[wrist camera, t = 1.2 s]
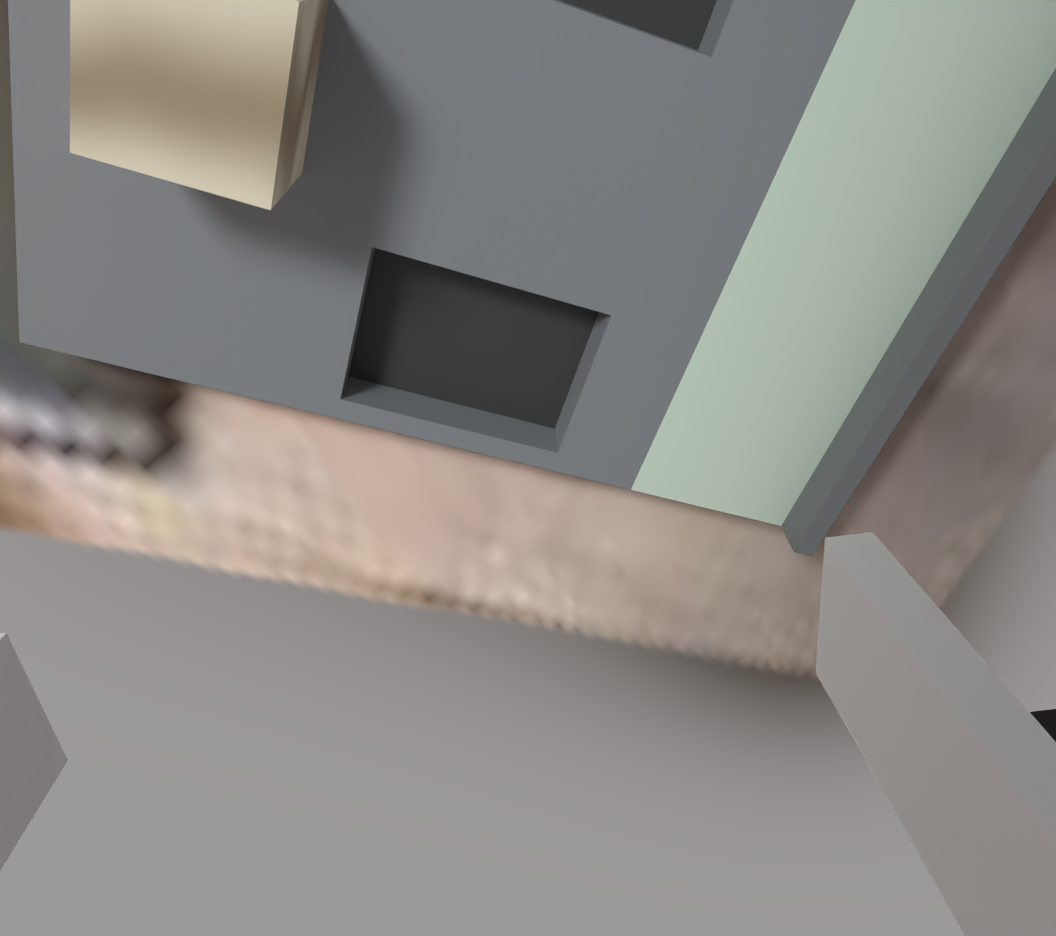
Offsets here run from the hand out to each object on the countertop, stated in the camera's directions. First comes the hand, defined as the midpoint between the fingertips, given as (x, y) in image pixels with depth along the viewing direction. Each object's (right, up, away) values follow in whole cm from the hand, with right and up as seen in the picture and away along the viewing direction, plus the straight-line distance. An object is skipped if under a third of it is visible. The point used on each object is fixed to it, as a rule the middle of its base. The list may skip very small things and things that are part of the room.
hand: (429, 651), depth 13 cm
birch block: (-9, +17, +14) cm, 24 cm away
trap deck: (+2, +16, +19) cm, 24 cm away
